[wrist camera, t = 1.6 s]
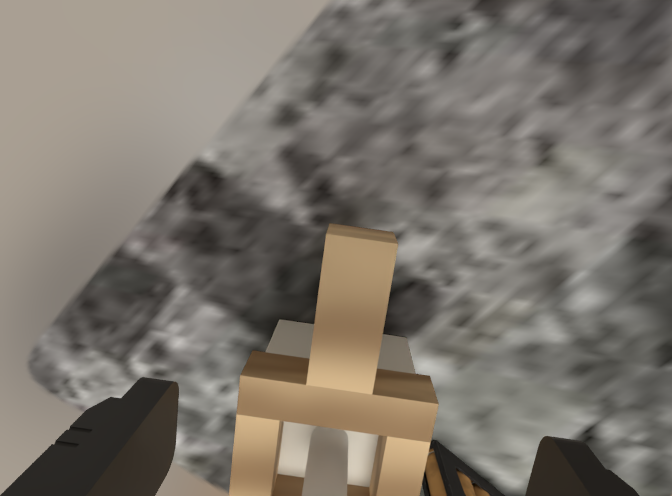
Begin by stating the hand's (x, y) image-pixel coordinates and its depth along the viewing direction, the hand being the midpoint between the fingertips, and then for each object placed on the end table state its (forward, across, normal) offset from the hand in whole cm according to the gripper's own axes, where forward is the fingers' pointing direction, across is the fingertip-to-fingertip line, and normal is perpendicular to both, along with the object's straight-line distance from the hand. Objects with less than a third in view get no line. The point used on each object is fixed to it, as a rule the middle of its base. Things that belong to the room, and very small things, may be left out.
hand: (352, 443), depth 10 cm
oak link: (+12, 0, +5) cm, 13 cm away
